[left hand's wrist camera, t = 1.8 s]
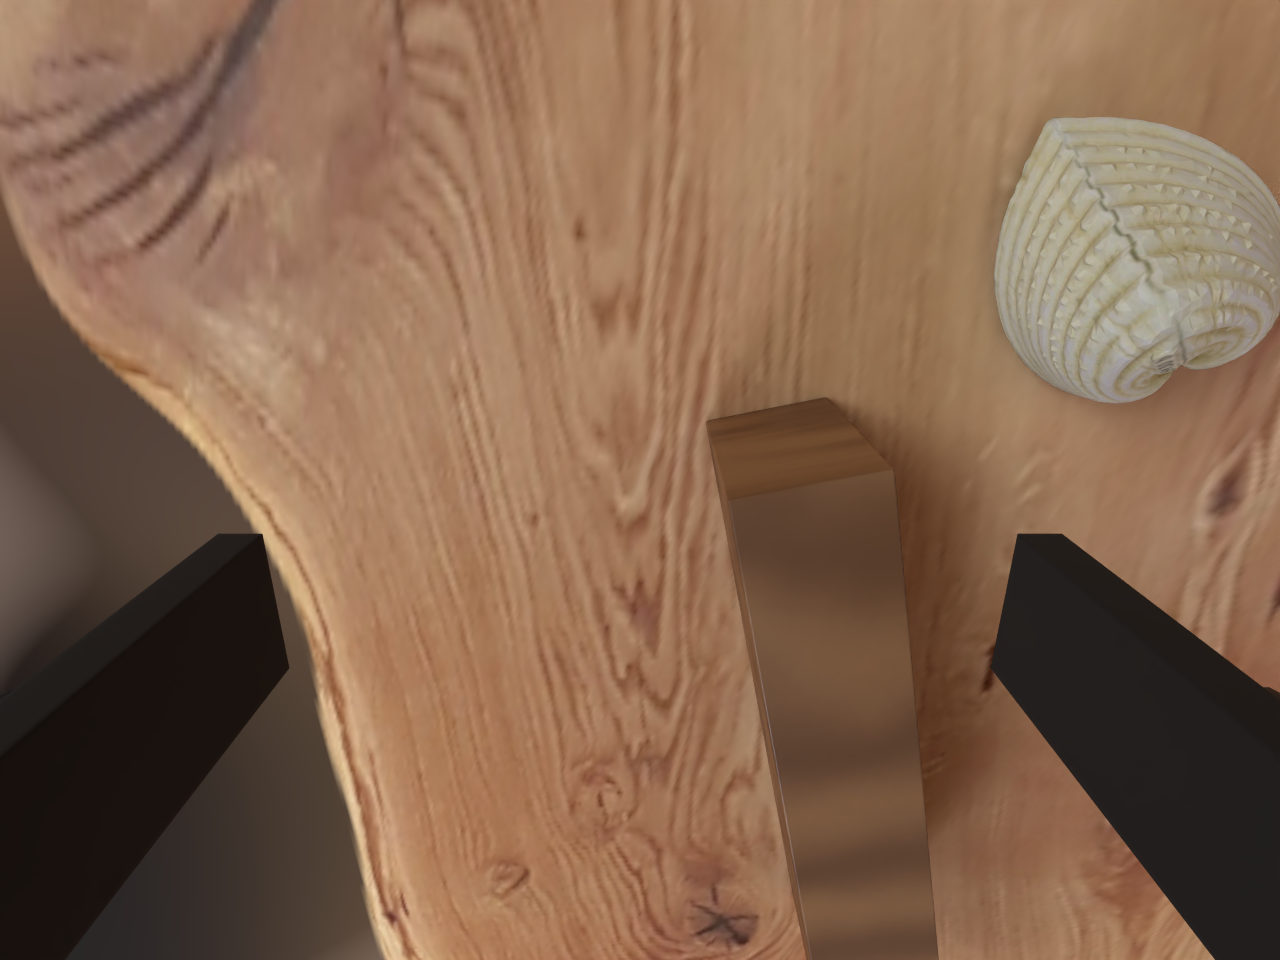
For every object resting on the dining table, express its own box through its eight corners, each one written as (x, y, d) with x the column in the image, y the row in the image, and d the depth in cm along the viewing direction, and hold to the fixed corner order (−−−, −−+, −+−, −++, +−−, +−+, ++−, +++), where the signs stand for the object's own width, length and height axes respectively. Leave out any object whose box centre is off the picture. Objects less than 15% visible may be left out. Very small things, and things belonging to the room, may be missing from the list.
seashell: (1071, 478, 26) (1002, 374, 21) (1003, 305, 30) (931, 183, 25) (1365, 382, 22) (1374, 219, 16) (1237, 196, 26) (1210, 19, 21)
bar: (705, 420, 28) (727, 500, 20) (826, 396, 28) (895, 468, 20) (793, 898, 37) (831, 1075, 29) (886, 884, 37) (948, 1061, 29)
